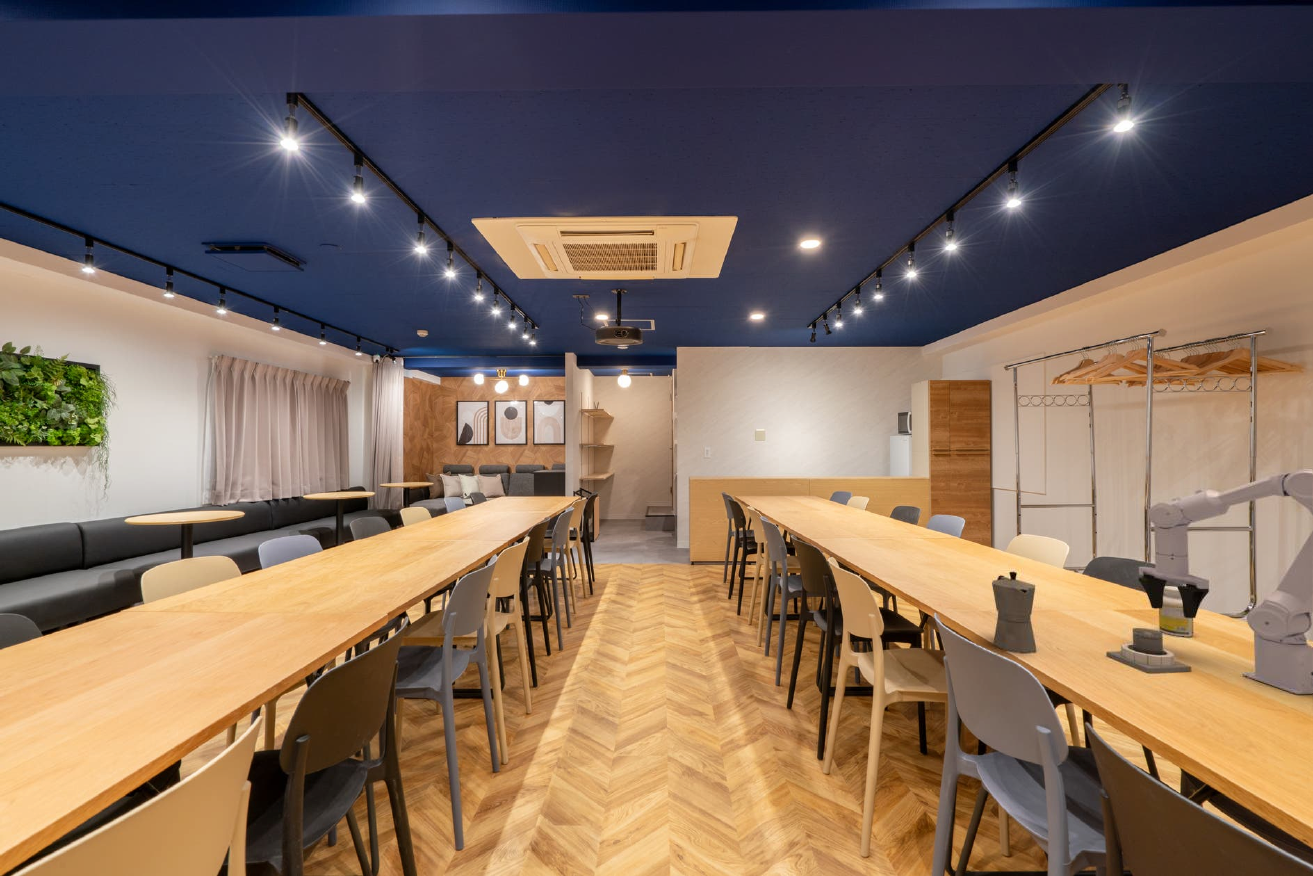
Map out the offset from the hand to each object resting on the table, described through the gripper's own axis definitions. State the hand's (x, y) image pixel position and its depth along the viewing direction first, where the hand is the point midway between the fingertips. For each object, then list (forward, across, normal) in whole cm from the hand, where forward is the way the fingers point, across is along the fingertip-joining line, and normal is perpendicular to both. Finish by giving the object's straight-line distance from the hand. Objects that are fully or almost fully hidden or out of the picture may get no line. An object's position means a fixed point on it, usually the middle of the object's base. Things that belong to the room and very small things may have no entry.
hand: (1172, 612), depth 130 cm
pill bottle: (+10, -13, +15) cm, 22 cm away
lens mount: (+9, +5, -12) cm, 16 cm away
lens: (+8, +5, -12) cm, 15 cm away
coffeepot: (+10, -9, -33) cm, 36 cm away
